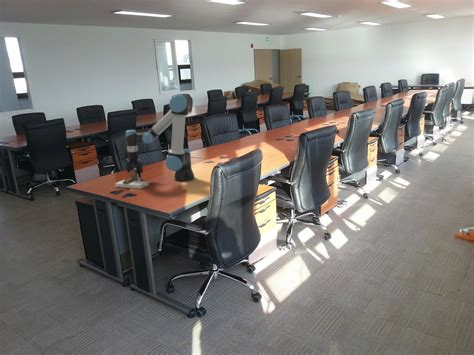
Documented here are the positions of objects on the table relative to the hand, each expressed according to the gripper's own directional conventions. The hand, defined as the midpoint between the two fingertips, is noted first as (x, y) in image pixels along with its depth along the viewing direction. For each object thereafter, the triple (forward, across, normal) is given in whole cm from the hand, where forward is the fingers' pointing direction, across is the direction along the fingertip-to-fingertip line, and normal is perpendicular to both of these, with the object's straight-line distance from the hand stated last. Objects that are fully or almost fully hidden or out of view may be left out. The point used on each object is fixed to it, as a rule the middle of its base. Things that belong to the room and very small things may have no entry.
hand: (136, 181), depth 299 cm
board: (+1, +3, -8) cm, 9 cm away
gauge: (+1, 0, -5) cm, 6 cm away
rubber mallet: (+1, -8, +11) cm, 13 cm away
